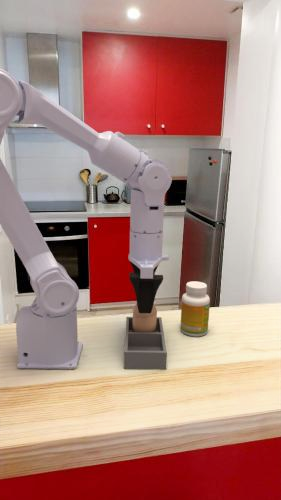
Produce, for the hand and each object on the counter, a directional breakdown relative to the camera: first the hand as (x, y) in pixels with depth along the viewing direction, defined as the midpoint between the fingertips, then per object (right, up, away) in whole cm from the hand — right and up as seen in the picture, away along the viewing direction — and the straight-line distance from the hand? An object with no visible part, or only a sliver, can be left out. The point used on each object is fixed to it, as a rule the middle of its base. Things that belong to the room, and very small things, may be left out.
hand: (144, 303), depth 66 cm
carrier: (0, -8, -1) cm, 8 cm away
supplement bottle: (+10, -6, +6) cm, 13 cm away
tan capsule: (0, -6, +2) cm, 7 cm away
